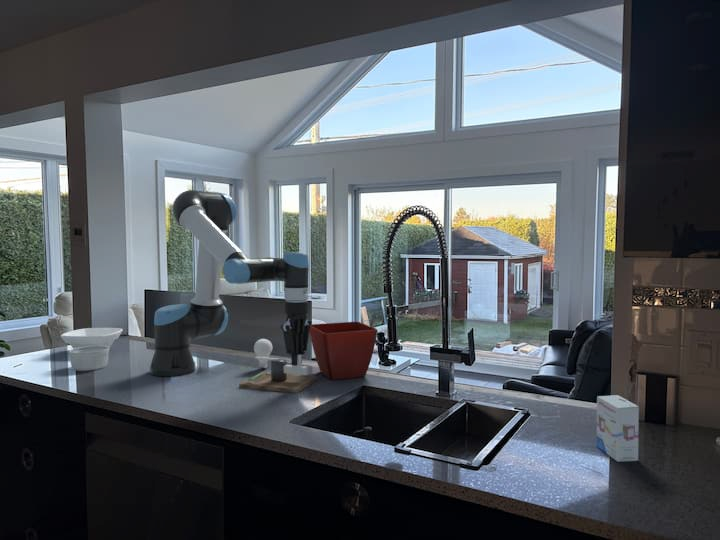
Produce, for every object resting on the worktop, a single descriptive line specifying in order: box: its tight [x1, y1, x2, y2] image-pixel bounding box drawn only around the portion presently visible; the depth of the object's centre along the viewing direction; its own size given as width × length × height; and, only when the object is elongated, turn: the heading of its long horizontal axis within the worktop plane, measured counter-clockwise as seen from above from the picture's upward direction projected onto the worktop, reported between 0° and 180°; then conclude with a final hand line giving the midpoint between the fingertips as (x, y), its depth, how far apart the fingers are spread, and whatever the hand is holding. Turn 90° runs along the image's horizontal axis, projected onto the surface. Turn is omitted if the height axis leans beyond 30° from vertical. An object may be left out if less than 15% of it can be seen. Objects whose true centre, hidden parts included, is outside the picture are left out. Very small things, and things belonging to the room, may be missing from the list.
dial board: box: [238, 371, 318, 394], centre depth 167 cm, size 20×17×2 cm
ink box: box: [596, 394, 640, 463], centre depth 111 cm, size 9×5×12 cm, turn 5°
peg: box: [254, 356, 309, 381], centre depth 166 cm, size 18×5×7 cm, turn 70°
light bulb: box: [253, 338, 273, 370], centre depth 186 cm, size 7×7×11 cm
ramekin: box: [68, 346, 110, 372], centre depth 188 cm, size 13×13×7 cm
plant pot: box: [309, 321, 378, 381], centre depth 178 cm, size 19×19×17 cm
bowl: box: [60, 327, 123, 349], centre depth 214 cm, size 21×21×9 cm
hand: (296, 374), depth 162 cm, fingers closed
